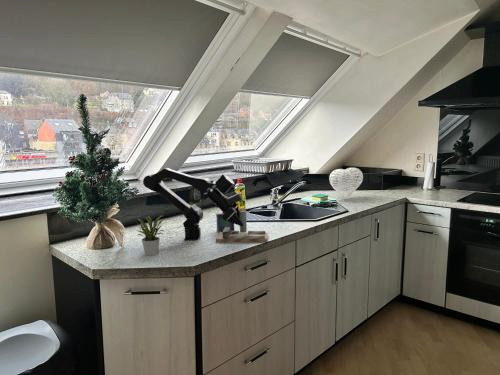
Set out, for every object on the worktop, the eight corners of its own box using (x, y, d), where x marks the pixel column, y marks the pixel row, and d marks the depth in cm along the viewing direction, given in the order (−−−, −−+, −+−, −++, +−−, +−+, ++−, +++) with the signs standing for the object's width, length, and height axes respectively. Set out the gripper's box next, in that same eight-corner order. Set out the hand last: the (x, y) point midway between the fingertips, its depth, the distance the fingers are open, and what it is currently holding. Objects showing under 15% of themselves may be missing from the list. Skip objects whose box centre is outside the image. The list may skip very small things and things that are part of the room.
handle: (238, 237, 174) (237, 212, 173) (239, 233, 181) (239, 209, 179) (247, 237, 174) (246, 212, 172) (248, 233, 180) (247, 209, 179)
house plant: (175, 247, 166) (173, 210, 164) (169, 257, 152) (167, 217, 150) (141, 248, 166) (139, 211, 163) (132, 258, 152) (130, 218, 150)
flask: (216, 231, 192) (215, 210, 191) (218, 230, 195) (217, 209, 193) (233, 232, 189) (232, 211, 188) (235, 231, 192) (235, 210, 190)
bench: (215, 242, 173) (215, 232, 172) (219, 235, 184) (219, 226, 183) (267, 242, 171) (267, 232, 171) (267, 235, 182) (267, 226, 182)
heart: (348, 195, 289) (349, 166, 286) (366, 198, 277) (367, 167, 274) (324, 200, 271) (324, 169, 268) (342, 203, 259) (343, 170, 256)
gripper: (229, 190, 165) (254, 215, 166) (233, 184, 184) (256, 207, 184) (211, 208, 167) (237, 233, 168) (217, 200, 185) (240, 223, 186)
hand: (243, 223), depth 176 cm, fingers open, 9 cm apart
